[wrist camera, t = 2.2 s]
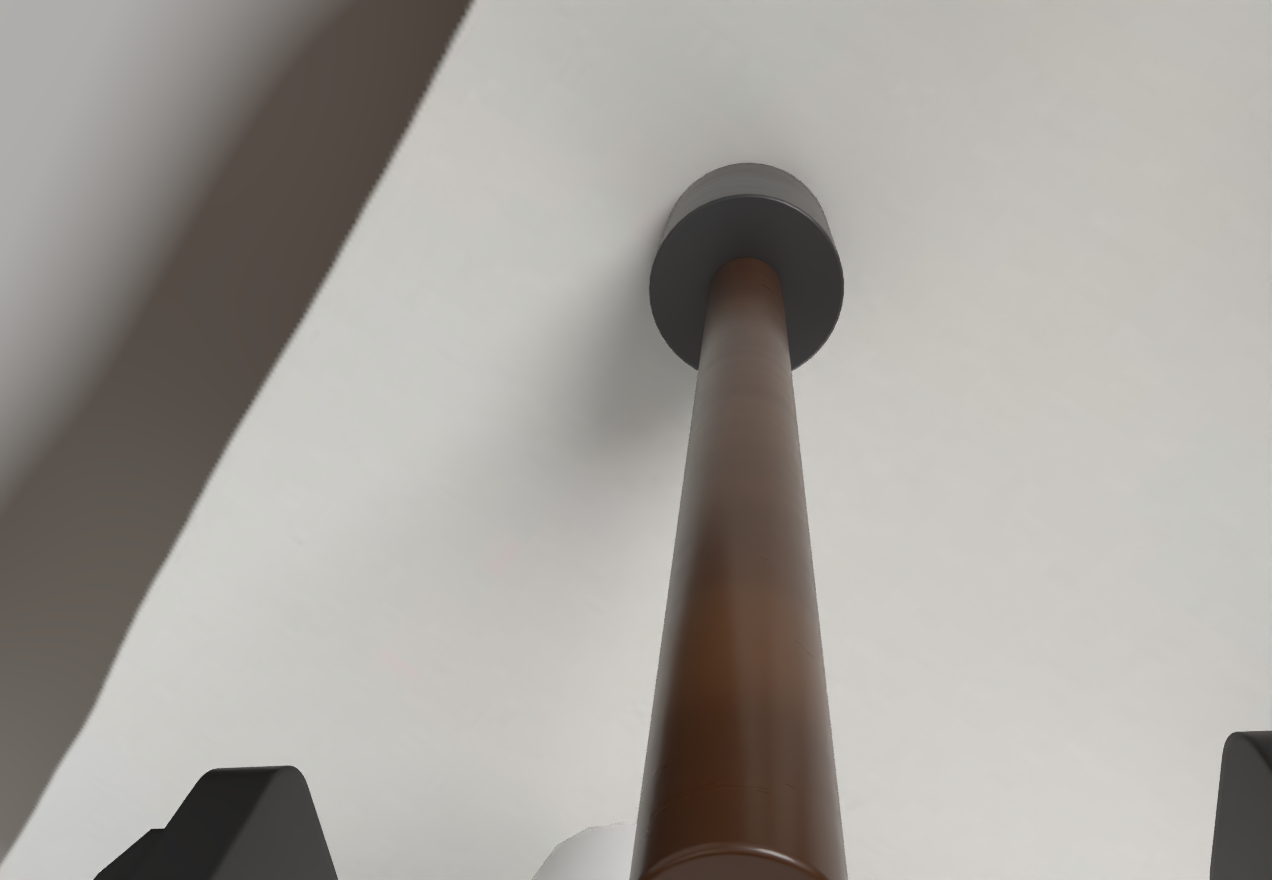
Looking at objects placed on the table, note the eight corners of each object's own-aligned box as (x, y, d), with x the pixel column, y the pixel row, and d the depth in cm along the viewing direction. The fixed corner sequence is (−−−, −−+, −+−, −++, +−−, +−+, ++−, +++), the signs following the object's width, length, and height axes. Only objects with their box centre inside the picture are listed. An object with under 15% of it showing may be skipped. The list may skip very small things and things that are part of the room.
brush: (654, 173, 29) (377, 698, 8) (824, 152, 29) (1066, 666, 7) (674, 333, 31) (498, 1131, 9) (834, 317, 31) (1049, 1140, 9)
